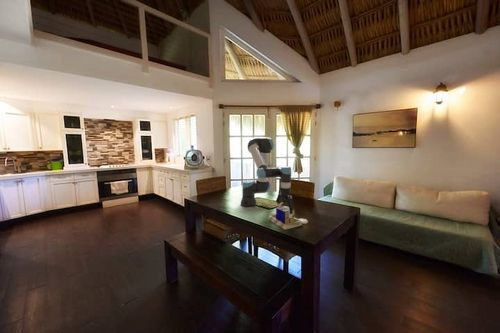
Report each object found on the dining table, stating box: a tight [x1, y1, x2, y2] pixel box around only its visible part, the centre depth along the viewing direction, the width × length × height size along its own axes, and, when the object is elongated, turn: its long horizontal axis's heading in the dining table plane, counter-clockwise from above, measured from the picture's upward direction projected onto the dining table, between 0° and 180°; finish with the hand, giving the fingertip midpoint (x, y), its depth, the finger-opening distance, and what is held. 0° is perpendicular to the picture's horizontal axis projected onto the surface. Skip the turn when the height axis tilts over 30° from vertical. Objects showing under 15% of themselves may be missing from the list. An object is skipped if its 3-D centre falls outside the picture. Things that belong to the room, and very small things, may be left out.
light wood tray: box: [268, 213, 303, 230], centre depth 158 cm, size 20×15×3 cm
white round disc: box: [298, 218, 309, 225], centre depth 160 cm, size 8×8×1 cm
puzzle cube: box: [275, 205, 295, 224], centre depth 158 cm, size 10×10×10 cm
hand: (284, 214), depth 158 cm, fingers open, 13 cm apart
